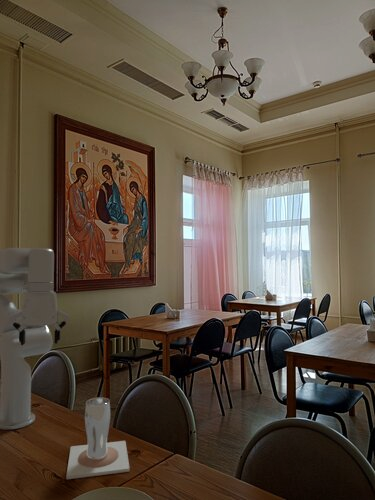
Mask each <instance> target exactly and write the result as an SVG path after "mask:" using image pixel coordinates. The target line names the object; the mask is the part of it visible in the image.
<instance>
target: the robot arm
mask: <svg viewBox="0 0 375 500" xmlns="http://www.w3.org/2000/svg"><path fill="white" fill-rule="evenodd" d="M54 272H55V253H54V249H52V248H46V247H42V248H41V247H34V248H31V247H8V248H7V247H6V248H3V249H1V250H0V365H1V366H0V367H1V368H0V370H1V371H0V375H1V376H0V430H5V431H7V430H16V429H22V428H24V427H27V426H30V425H31V424H33V422H35V421H36V415H35V414H34V413H33V412H31V410H32V408H31V407H32V406H31V404H32V403H31V402H32V399H31V397H32V395H31V394H32V369H31V366H30V364H29V363H28V362H27V361H26V360H25V358H26V357H27V358H28V357H31V356H32V357H34V356H39V355H45V354H47V353H48V352H50V351H51V350H52V349H53V344H55V345H56V344H58V342H59V341H60V340H61V329H62V328H64V327H65V326H66V324H67V322H68V321H69V318H70V317H71V316H70V315H69V314H68V313H66V312H63V311H61V310H59V309H58V306H59V305H58V298H57V292H56V291H54V288H55V287H54V286H55V283H54V282H55V281H54V279H55V277H54V275H55V274H54ZM20 294H24V295H23V299H22V305H21V306H22V307H21V309H20V308H19V309H18V308H17V307H16V305H15V303H14V302H13V300H12V299H10V298H9V297H7V296H5V295H20ZM59 317H61V318H63V320H62V321H61V323H59V322H58V318H59ZM49 326H53V328H55V330H54V339H53V335H52V333H51V330H50V328H49ZM53 340H54V341H53Z"/></svg>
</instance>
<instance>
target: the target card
mask: <svg viewBox="0 0 375 500" xmlns="http://www.w3.org/2000/svg"><path fill="white" fill-rule="evenodd" d="M126 441H127V440H119V441H110V442H107V448H108V456H107V457H106V458H105V459H103V460H99V461H91V460H88V459H87V458H86V453H87V447H88V444H83V445H82V444H80V445H72V446H70V450H69V456H68V464H67V470H66V476H65V477H66V479H65V480H72V479H79V478H87V477H88V478H89V477H95V476H97V477H99V476H105V475H112V474H119V473H128V472H130V468H131V467H130V463H129V462H130V461H129V456H128V449H127V442H126Z"/></svg>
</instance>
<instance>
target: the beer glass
mask: <svg viewBox="0 0 375 500" xmlns="http://www.w3.org/2000/svg"><path fill="white" fill-rule="evenodd" d="M110 400H111V399H109V398H107V397H100V396H98V397H92V398H90V399H88V400H86V401H85V412H84V424H85V425H84V427H85V431H86V432H85V433H86V439H87V445H88V447H87V453H86V458H87V459H88V460H91V461H99V460H103V459H105V458H106V457H107V456H108V448H107V443H108V436H109V430H110V425H111V404H110V403H111V401H110Z"/></svg>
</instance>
